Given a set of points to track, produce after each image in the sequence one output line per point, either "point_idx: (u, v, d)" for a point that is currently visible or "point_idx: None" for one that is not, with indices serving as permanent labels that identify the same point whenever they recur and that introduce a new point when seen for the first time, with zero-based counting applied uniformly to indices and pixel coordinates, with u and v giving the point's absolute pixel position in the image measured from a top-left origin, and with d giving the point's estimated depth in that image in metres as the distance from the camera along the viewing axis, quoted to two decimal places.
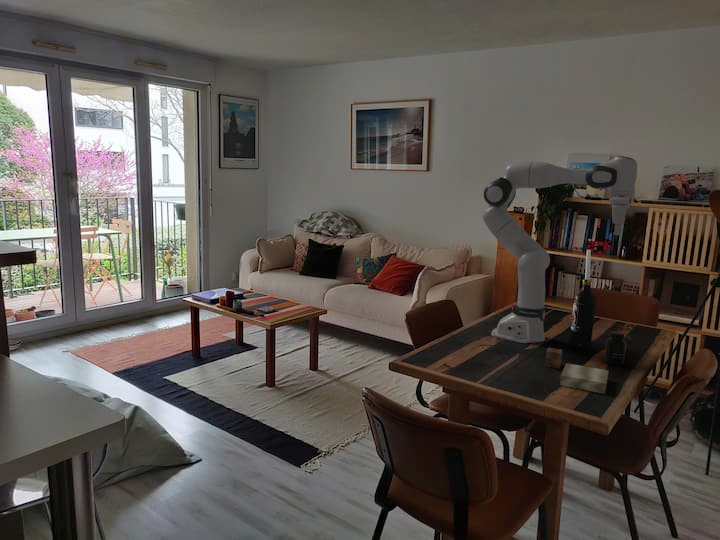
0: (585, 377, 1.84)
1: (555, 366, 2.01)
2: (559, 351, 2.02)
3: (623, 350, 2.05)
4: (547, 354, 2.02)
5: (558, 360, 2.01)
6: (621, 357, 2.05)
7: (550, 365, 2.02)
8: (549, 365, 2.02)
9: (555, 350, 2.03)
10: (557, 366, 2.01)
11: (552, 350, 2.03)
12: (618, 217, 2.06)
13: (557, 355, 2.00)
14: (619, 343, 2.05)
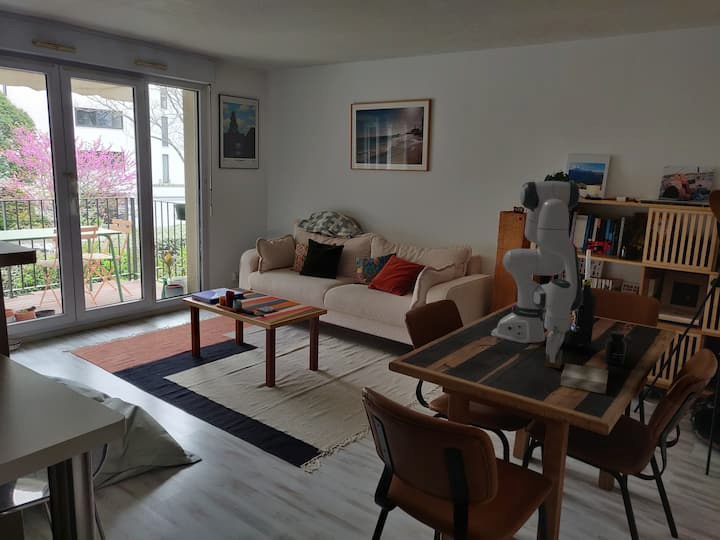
0: (585, 377, 1.84)
1: (555, 366, 2.01)
2: (559, 351, 2.02)
3: (623, 350, 2.05)
4: (547, 354, 2.02)
5: (558, 360, 2.01)
6: (621, 357, 2.05)
7: (550, 365, 2.02)
8: (549, 365, 2.02)
9: None
10: (557, 366, 2.01)
11: None
12: None
13: (557, 355, 2.00)
14: (619, 343, 2.05)
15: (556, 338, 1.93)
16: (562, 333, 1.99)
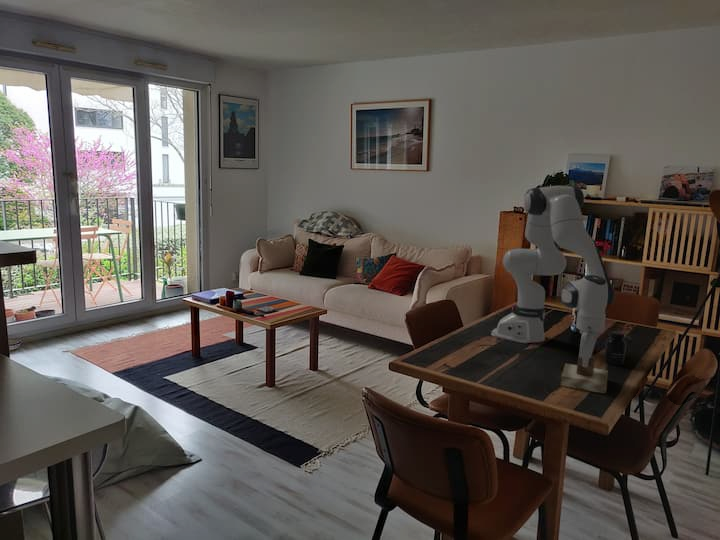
0: (586, 377, 1.84)
1: (588, 373, 1.85)
2: (592, 357, 1.86)
3: (623, 350, 2.05)
4: (579, 360, 1.86)
5: (591, 367, 1.84)
6: (621, 356, 2.05)
7: (582, 372, 1.86)
8: (581, 372, 1.86)
9: None
10: (590, 373, 1.85)
11: None
12: None
13: (590, 361, 1.84)
14: (619, 343, 2.05)
15: (591, 339, 1.76)
16: (596, 334, 1.82)
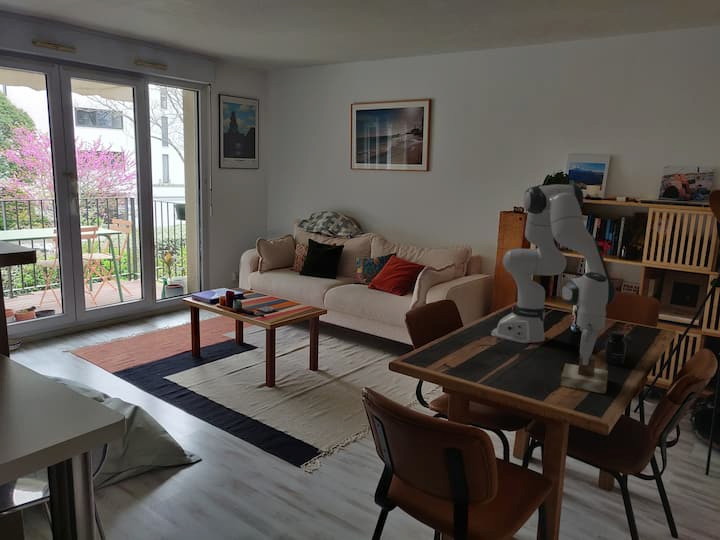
0: (586, 377, 1.84)
1: (589, 373, 1.85)
2: (593, 357, 1.86)
3: (623, 350, 2.05)
4: (580, 361, 1.85)
5: (593, 367, 1.84)
6: (621, 357, 2.05)
7: (584, 372, 1.85)
8: (583, 372, 1.86)
9: None
10: (591, 373, 1.84)
11: None
12: None
13: (592, 362, 1.84)
14: (619, 343, 2.05)
15: (591, 337, 1.76)
16: (597, 331, 1.82)
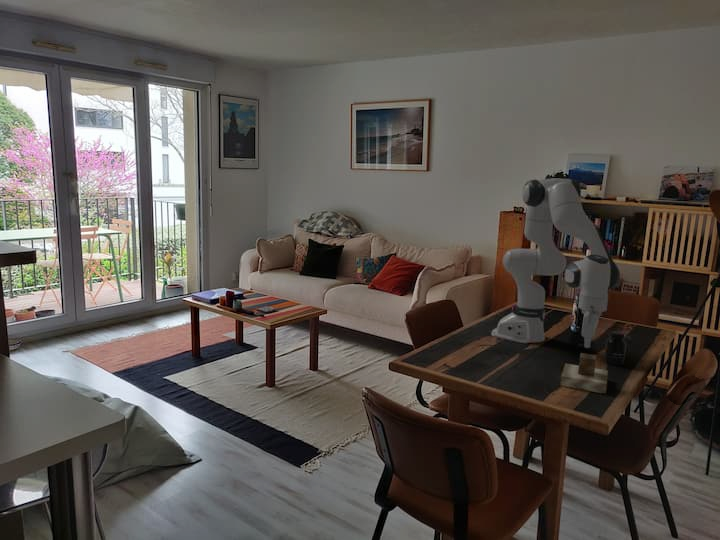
0: (586, 377, 1.84)
1: (589, 373, 1.85)
2: (593, 357, 1.86)
3: (623, 350, 2.05)
4: (581, 360, 1.86)
5: (593, 367, 1.84)
6: (621, 357, 2.05)
7: (584, 372, 1.86)
8: (583, 372, 1.86)
9: (589, 356, 1.87)
10: (592, 373, 1.85)
11: (586, 356, 1.87)
12: None
13: (592, 361, 1.84)
14: (619, 343, 2.05)
15: (593, 319, 1.75)
16: (599, 314, 1.81)
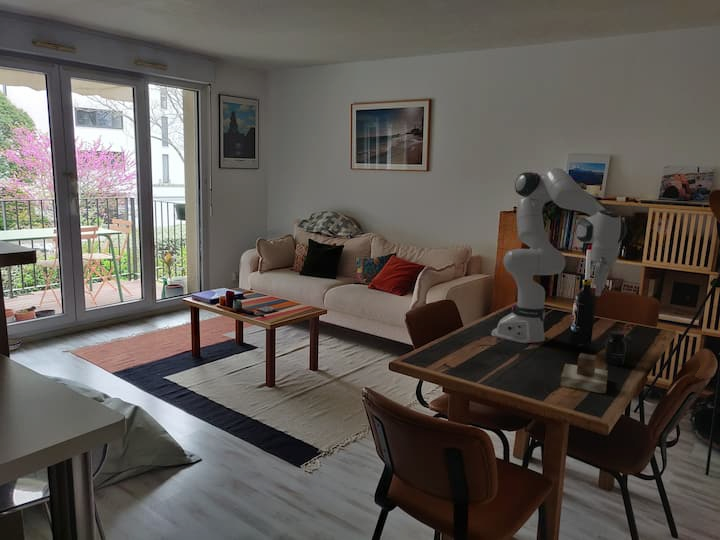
0: (585, 377, 1.84)
1: (588, 373, 1.85)
2: (592, 357, 1.86)
3: (623, 350, 2.05)
4: (579, 360, 1.86)
5: (591, 367, 1.84)
6: (621, 357, 2.05)
7: (582, 372, 1.86)
8: (581, 372, 1.86)
9: (588, 356, 1.87)
10: (590, 373, 1.84)
11: (585, 356, 1.87)
12: None
13: (590, 361, 1.84)
14: (619, 343, 2.05)
15: (604, 268, 1.89)
16: (609, 265, 1.95)
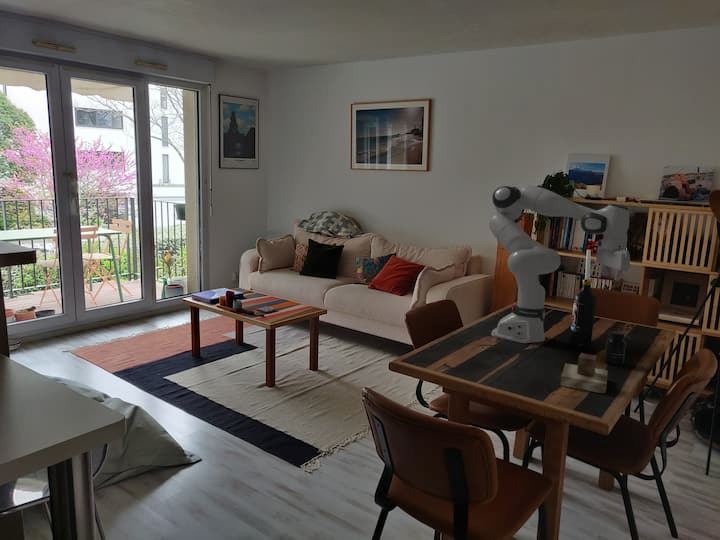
0: (585, 377, 1.84)
1: (588, 373, 1.85)
2: (593, 357, 1.86)
3: (623, 350, 2.05)
4: (579, 360, 1.86)
5: (592, 367, 1.84)
6: (621, 357, 2.05)
7: (583, 372, 1.86)
8: (582, 372, 1.86)
9: (588, 356, 1.87)
10: (590, 373, 1.84)
11: (585, 356, 1.87)
12: None
13: (591, 361, 1.84)
14: (619, 343, 2.05)
15: (629, 255, 2.14)
16: None
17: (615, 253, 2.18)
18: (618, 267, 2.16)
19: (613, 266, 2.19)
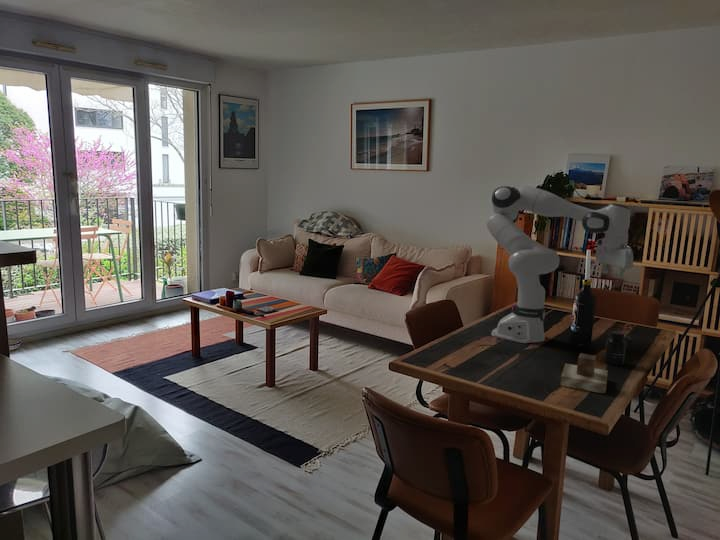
0: (585, 377, 1.84)
1: (588, 374, 1.85)
2: (592, 357, 1.85)
3: (623, 350, 2.05)
4: (579, 360, 1.85)
5: (591, 367, 1.84)
6: (621, 356, 2.05)
7: (582, 372, 1.86)
8: (581, 372, 1.86)
9: (588, 356, 1.86)
10: (590, 374, 1.84)
11: (585, 356, 1.86)
12: None
13: (590, 362, 1.84)
14: (619, 343, 2.05)
15: (632, 253, 2.19)
16: None
17: (618, 251, 2.23)
18: (622, 265, 2.21)
19: (616, 264, 2.24)
